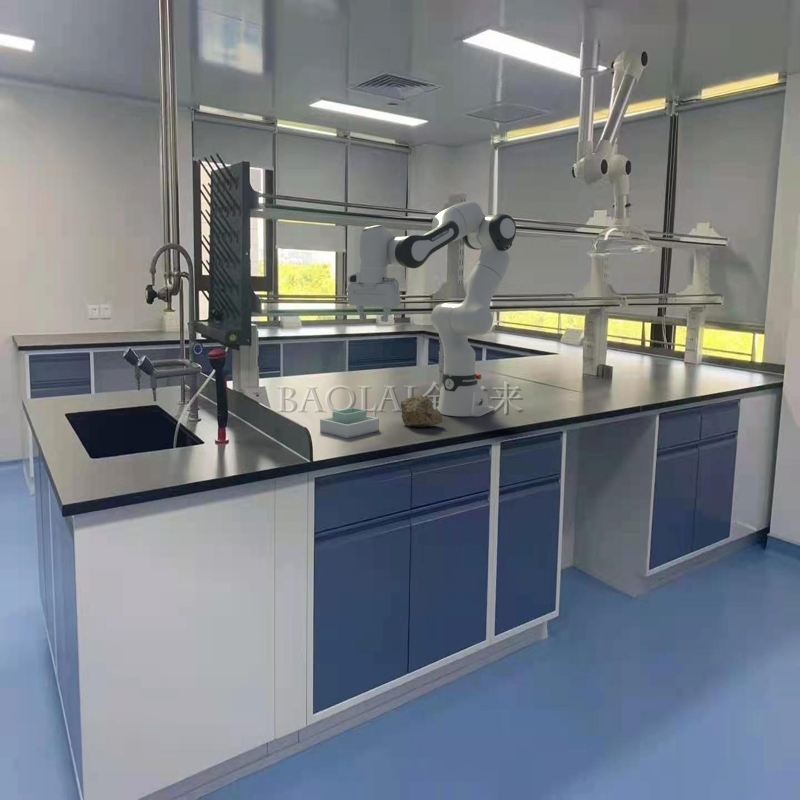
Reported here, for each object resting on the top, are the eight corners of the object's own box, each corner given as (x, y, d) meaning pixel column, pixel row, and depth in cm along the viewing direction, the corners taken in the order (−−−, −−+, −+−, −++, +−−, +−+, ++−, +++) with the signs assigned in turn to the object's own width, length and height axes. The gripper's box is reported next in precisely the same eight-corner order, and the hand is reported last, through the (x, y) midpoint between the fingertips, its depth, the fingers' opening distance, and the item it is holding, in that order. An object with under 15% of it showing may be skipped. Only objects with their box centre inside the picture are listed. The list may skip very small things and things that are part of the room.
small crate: (352, 425, 213) (352, 407, 212) (366, 428, 209) (366, 410, 208) (332, 430, 206) (332, 411, 205) (346, 433, 202) (346, 414, 201)
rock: (409, 412, 208) (431, 393, 211) (388, 409, 218) (409, 390, 222) (425, 439, 212) (446, 420, 216) (404, 434, 222) (424, 416, 226)
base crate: (351, 424, 217) (351, 412, 216) (379, 430, 209) (379, 418, 208) (320, 432, 206) (320, 419, 206) (347, 438, 199) (347, 425, 198)
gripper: (404, 277, 208) (404, 322, 211) (357, 277, 221) (357, 318, 224) (391, 278, 203) (391, 323, 206) (344, 277, 216) (344, 319, 219)
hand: (373, 320), depth 215 cm, fingers open, 8 cm apart
